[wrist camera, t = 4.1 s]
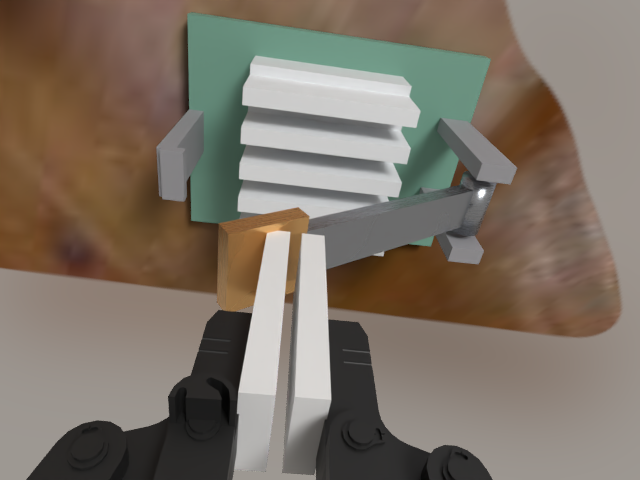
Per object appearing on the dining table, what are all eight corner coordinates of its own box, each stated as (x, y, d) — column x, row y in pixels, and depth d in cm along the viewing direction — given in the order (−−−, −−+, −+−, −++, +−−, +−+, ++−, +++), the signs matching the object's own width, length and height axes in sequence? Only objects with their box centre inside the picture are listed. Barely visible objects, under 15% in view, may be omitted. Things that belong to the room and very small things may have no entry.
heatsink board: (194, 213, 29) (159, 287, 22) (192, 12, 23) (142, 29, 16) (427, 238, 30) (461, 315, 24) (484, 56, 24) (553, 89, 17)
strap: (211, 295, 16) (231, 322, 14) (212, 216, 14) (235, 241, 13) (458, 221, 23) (483, 235, 22) (477, 165, 22) (505, 178, 21)
